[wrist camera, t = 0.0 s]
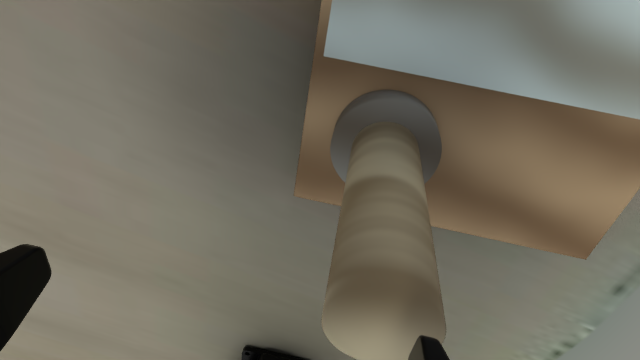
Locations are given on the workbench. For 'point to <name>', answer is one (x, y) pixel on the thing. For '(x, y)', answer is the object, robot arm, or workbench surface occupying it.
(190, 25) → the workbench surface
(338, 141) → the post
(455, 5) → the board
